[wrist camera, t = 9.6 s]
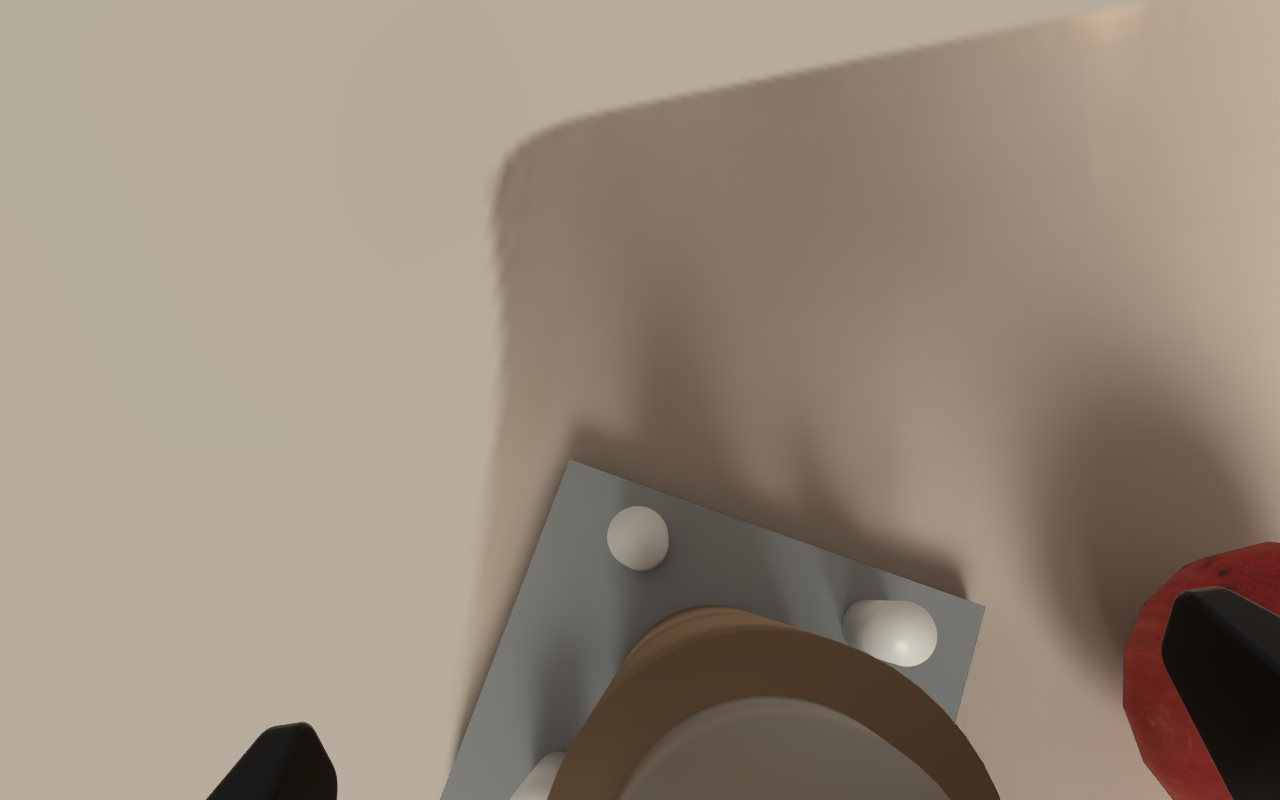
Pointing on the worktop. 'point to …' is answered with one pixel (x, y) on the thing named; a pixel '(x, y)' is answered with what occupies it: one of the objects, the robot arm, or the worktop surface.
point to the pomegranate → (1148, 692)
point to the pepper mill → (764, 722)
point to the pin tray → (659, 586)
